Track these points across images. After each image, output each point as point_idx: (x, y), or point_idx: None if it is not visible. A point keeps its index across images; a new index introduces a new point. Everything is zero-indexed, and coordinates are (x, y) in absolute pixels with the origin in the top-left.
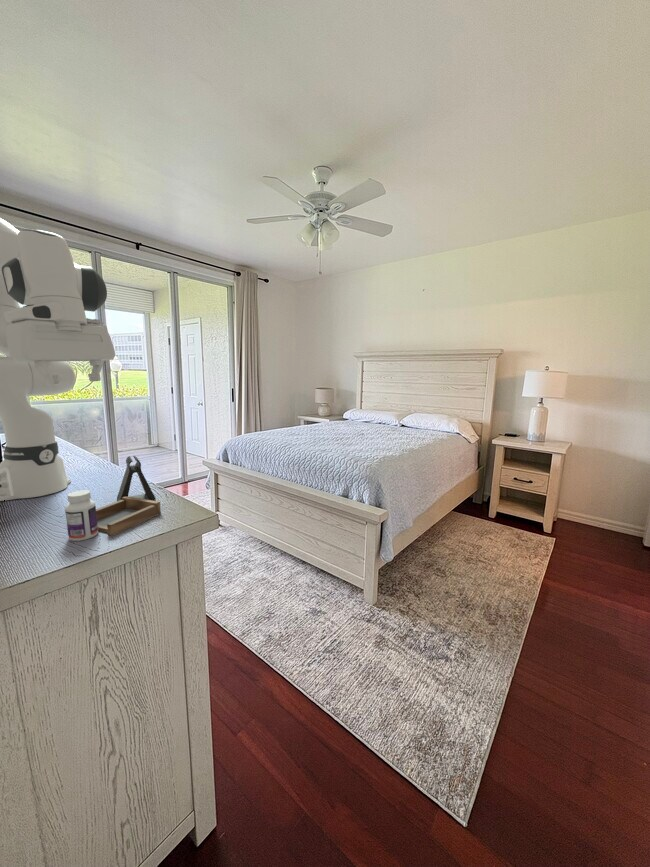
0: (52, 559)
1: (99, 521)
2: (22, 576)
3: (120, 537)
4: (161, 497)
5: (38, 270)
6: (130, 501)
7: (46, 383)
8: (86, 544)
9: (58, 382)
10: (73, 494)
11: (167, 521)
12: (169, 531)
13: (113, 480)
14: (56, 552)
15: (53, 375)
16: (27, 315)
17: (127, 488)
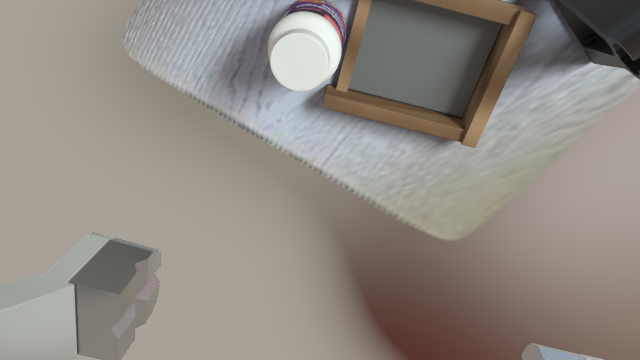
0: (206, 47)
1: (397, 9)
2: (142, 43)
3: (320, 118)
4: (615, 67)
5: None
6: (503, 46)
7: (90, 238)
8: None
9: (150, 306)
10: (284, 56)
11: (415, 171)
12: (362, 198)
13: None
14: (231, 30)
15: (80, 350)
16: None
17: (573, 9)
